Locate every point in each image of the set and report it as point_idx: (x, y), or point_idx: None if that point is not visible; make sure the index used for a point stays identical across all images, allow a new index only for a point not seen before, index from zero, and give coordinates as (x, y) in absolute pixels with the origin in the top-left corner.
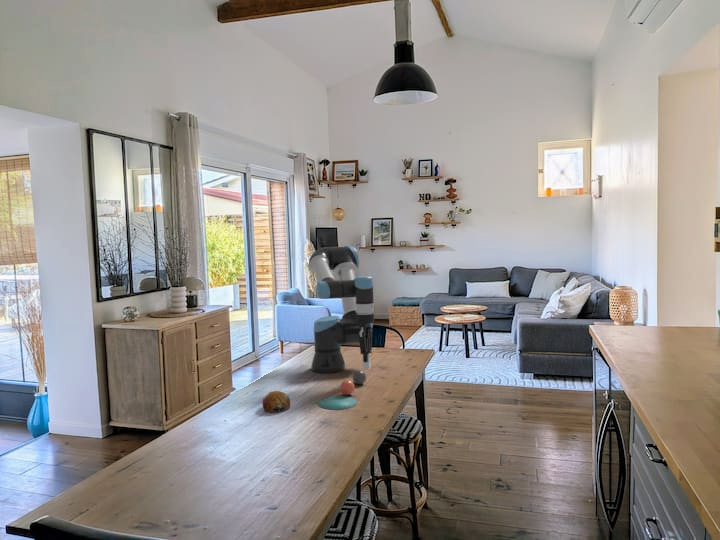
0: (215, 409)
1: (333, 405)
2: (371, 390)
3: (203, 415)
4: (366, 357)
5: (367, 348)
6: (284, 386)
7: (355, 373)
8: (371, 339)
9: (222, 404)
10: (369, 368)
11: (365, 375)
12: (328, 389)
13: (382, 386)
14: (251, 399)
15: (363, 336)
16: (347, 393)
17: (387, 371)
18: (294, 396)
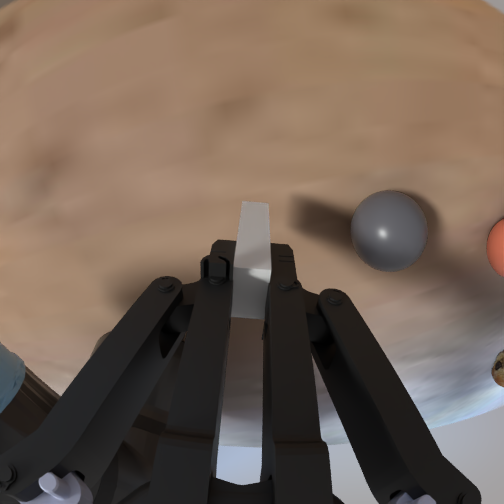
0: (474, 414)
1: None
2: (468, 141)
3: (491, 409)
4: (295, 269)
5: (303, 323)
6: None
7: (414, 261)
8: (106, 369)
9: (456, 420)
10: (264, 205)
11: (403, 201)
12: (429, 310)
13: (413, 87)
14: (448, 407)
15: (453, 472)
16: None
17: (97, 119)
18: (462, 360)
